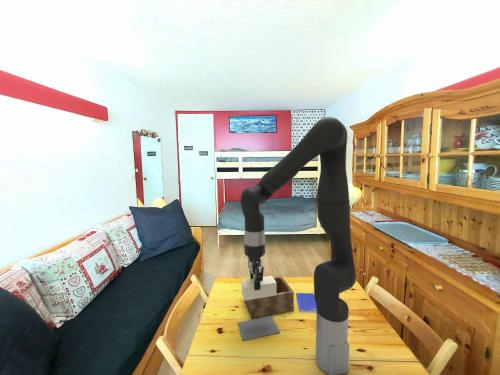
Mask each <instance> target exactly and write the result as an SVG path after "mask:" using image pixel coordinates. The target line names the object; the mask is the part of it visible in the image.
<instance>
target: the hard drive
mask: <svg viewBox="0 0 500 375" xmlns="http://www.w3.org/2000/svg"><path fill="white" fill-rule="evenodd" d="M295 295H296V301H297V308H298V311H299V313H310V314H311V313H312V314H313V313H314V314H317V306H316V302H315V298H314V292H313V293H312V292H310V293H309V292H308V293H307V292H296V293H295Z"/></svg>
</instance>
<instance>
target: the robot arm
mask: <svg viewBox="0 0 500 375" xmlns="http://www.w3.org/2000/svg"><path fill="white" fill-rule="evenodd" d="M347 146H348V130H347V127H346V126H345V125H344V124H343V123H342V122H341V120H339V119H337V118H335V117H333V116H326V117H323V118H321V119H318V120H317V121H316V122H315V124H314V125H312V127H311V128H310V129H309V131H307V133H306V134H305V135H304V136H303V138H302V139H300V141H299V142H298V143H297V144H296V145H295V146H294V147H293V148H292V150H290V151H289V152H288V153H287V154H286V155H285V156H284V157H283V158H282V159H281V160H280V161H278V162H277V163H276V164H274V166H273V167H271V168H270V169H268V171H267V172H265V174H263V176H262V177H261V180H260V181H259V182H258V183H256V184H255V185H254V186H249V187H246V188H245V189H244V190H243V191H242V192H241V195H240V206H241V209H242V210H241V211H242V215H243V217H244V232H243V233H244V234H243V238H244V239H243V241H244V242H243V244H244V247H243V248H244V250H243V252H244V255H245V256H246V257H247V267H248V271H249V277H250V278H249V279H254V289H255V290H260V281H263V277H264V270H265V268H264V266H263V265H262V263H263V262H262V259H261V258H262V257H264V256H265V255H266V232H265V216H264V214H263V213H261V210H260V206H261V205H262V204H264V203H265V202H267V201H268V200H269V199H270V198H271V197H272V196H273V195H274V194H275V193H276V192H278V191H279V190H281V189H282V188H283V187H284V186H286V185H288V183H290V182H291V180H293V179H294V178H295V177H296V176H297V175H298V173H299V172H300V171H301V170H302V169H303V168H304V167H305V166H306V165H307V164H309V163H310V162H311V161H312V160H314V159H315V158H316V157H318V156H319V162H320V171H319V173H320V174H319V178H318V179H319V180H318V185H317V189H316V190H317V192H316V213H317V214H316V217H317V219H318V223H319V225H320V226H321V228H322V230H323V231H324V233H325V235H326V236H327V238H328V240H329V243H330V254H331V256H330V259H329V260H327V261H324V262H321V263H319V264H317V265H316V266H315V268H314V272H313V294H314V298H315V302H316V306H317V313H315V315H316V320H315V322H316V323H315V363H316V365H317V366H318V367H319V369H320V370H321V371H323V372H324V373H326V374H328V375H343V374H348V373H349V359H350V343H349V341H348V337H349V336H348V334H349V313H350V311H349V310H350V309H349V305H348V304H347V302H346V301H345V300H344V299H342V298H341V297H340V294H342V293H344V292H346V291H348V290H350V289H351V288H352V287H354V286H355V283H356V280H357V279H356V277H357V274H356V267H355V260H354V254H353V247H352V246H353V245H352V232H351V206H350V205H351V204H350V203H351V202H350V192H349V191H350V190H349V182H348V181H349V180H348V176H347V175H348V174H347V166H346V165H347V164H346V163H347V161H346V160H347V157H346V156H347V148H348V147H347Z"/></svg>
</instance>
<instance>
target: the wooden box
mask: <svg viewBox="0 0 500 375" xmlns="http://www.w3.org/2000/svg"><path fill="white" fill-rule="evenodd" d="M272 277H273V278H274V280H275V281H276V295H275V296H269V297H263V298H257V299H251V300H246V301H245V300H244V299H243V300H244V303H245V306H246V308H247V311H248V314H249V316H250V320H252V319H258V318H263V317H268V316H276V315H281V314H282V315H283V314H286V313H292V312H294V311H295V308H294V306H295V305H294V303H295V302H294V300H295V298H294V297H295V292H294V290H293V289H292V287H290V285H289V284H288V282H287V281H286V280H285V278H284V277H283V276H281V275H279V276H275V277H274V276H272Z"/></svg>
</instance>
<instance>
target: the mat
mask: <svg viewBox="0 0 500 375" xmlns="http://www.w3.org/2000/svg"><path fill="white" fill-rule="evenodd" d="M237 325H238V328H239V333H240V336H241V337H240V338H241V340H242V342H245V341H249V340H254V339H255V340H256V339H260V338H264V337H269V336H273V335H276V334H280V333H281V332H280V330H279V327H278V325H277V324H276V322H275V320H274V318H273V315H271V316H266V317H261V318H256V319H248V320H244V321H238V322H237Z"/></svg>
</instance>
